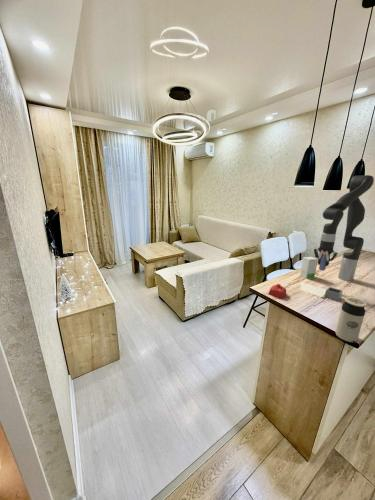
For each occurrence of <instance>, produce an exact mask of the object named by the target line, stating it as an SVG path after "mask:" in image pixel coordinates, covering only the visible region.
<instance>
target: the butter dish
mask: <svg viewBox="0 0 375 500" xmlns="http://www.w3.org/2000/svg"><path fill="white" fill-rule="evenodd" d="M268 295H269V296H271V297H274V296H275V297H274V298H277V297H278V299H280V298H281V299H282V300H284V299H285V298H286V295H287V289H286V287H284V286H282V285H281V284H280V283H276V284H274V285H272V286H271V287H270V288H269V291H268ZM284 297H285V298H284ZM283 298H284V299H283ZM281 299H280V300H281Z"/></svg>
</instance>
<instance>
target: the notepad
mask: <svg viewBox="0 0 375 500" xmlns="http://www.w3.org/2000/svg"><path fill="white" fill-rule="evenodd" d="M299 285H300V291H302V292H305V293H308V294H309V295H310V294H311V295H313V296H315V297H317V298H320V299H324V300H325V298H326V296H325V292H326V290H327V289H325V288H323V287H319V286H315V285H313V284H308V283H307V282H303V281H301V282H300V283H299Z"/></svg>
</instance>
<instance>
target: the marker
mask: <svg viewBox="0 0 375 500" xmlns="http://www.w3.org/2000/svg"><path fill="white" fill-rule="evenodd" d="M326 261H327V258H326V252H323V254H322V256H321V261H320V265H318V270H320V271H323V272H324V271H326V268H327V266H325V265H326Z"/></svg>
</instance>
